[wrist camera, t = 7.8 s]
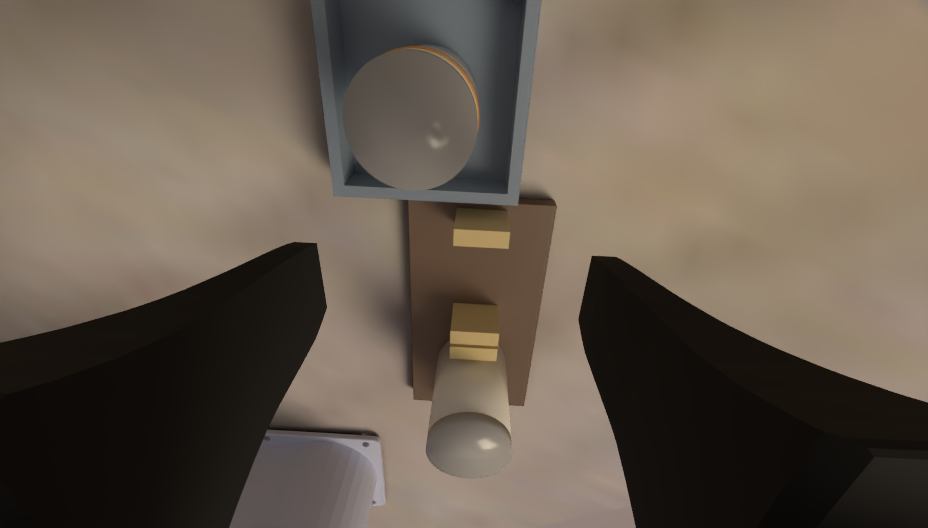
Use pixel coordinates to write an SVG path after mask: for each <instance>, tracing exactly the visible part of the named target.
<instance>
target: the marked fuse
mask: <svg viewBox="0 0 928 528" xmlns="http://www.w3.org/2000/svg"><path fill="white" fill-rule="evenodd" d="M342 118H343V128H344V133H345V136H346V139H347V143H348V145H349V147H350V149H351V151H352V153H353V155H354V156H355V158H356V159H357V161H358V162H359V163H360V164H361V166H362V167H363V168H364V169H365V170H366V171H367V172H368V173H369V174H371V175H372V176H373V177H374V178H376V179H378V180H379V181H381V182H382V183H385V184H387V185H389V186H391V187H394V188H397V189H402V190H409V191H421V190H427V189H432V188H435V187H438V186H440V185H442V184H444V183H446V182H448V181H449V180H451V179H452V178H453V177H454V176H456V175H457V174H458V173H459V172H460V171H461V170H462V168H463V167H464V166H465V164H466V163H467V162H468V160H469V158H470V156H471V154H472V152H473V149H474V146H475V142H476V137H477V132H478V128H479V103H478V88H477V83H476V80H475V77H474V75H473V72H472V71H471V69H470V67H469V66H468V64H467V63H466V62H465V61H464V60H463V59H462V58H461V57H460V56H459V55H458V54H457V53H455V52H454V51H452V50H450V49H449V48H446V47H443V46H440V45H435V44H423V45H418V46H406V47H401V48H397V49H393V50H391V51H388V52H386V53H384V54H382V55H380V56H377V57H376V58H374V59H372V60H370V61H369V62H368V63H367V64H365V65H364V66H363V67H362V68H361V69H360V70H359V71H358V72H357V73H356V75H355V76H354V78H353V79H352V81H351V83H350V85H349V87H348V89H347V92H346V95H345V98H344V103H343V113H342Z"/></svg>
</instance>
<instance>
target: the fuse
mask: <svg viewBox="0 0 928 528" xmlns="http://www.w3.org/2000/svg"><path fill="white" fill-rule="evenodd" d="M497 348H498V350H497V359H496V361H482V360H464V359H450V341H448V342H447V343H446V344H445V345H444V346H443V347H442V348H441V350H440V352H439V355H438V361H437V368H436V376H435V384H434V391H433V399H432V406H431V414H430V421H429V429H428V436H427V444H426V454H427V457H428V459H429V461H430V462H431V463H432V464H433V465H434V466H435V467H436V468H437V469H439V470H440V471H442V472H444V473H446V474H449V475H452V476H455V477H460V478H481V477H486V476H490V475H493V474H495V473H497V472H499V471H500V470H502V469H503V468H504V467H505V466H506V465H507V464H508V463H509V461H510V459H511V456H512V443H511V430H510V416H509V403H508V389H507V375H506V362H505V355H504V353H503V351H502V349H501V348H500V347H499V346H497Z"/></svg>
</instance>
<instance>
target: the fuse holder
mask: <svg viewBox="0 0 928 528" xmlns="http://www.w3.org/2000/svg"><path fill="white" fill-rule="evenodd" d="M408 207H409V244H410V282H411V319H412V356H413V394H414V400H429V401H432V399H433V391H434V384H435V376H436V368H437V361H438V355H439V352H440V350H441V348H442V347H443V346H444V345H445V344H446V343H447V342H448V341H450V359H464V360H482V361H496V359H497V350H498V348H497V346H499V347H500V348H501V349H502V351H503V353H504V355H505V362H506V375H507V389H508V403H509V405H514V406H524V402H525V396H526V390H527V384H528V378H529V372H530V366H531V360H532V353H533V347H534V341H535V335H536V329H537V323H538V317H539V311H540V305H541V299H542V293H543V287H544V281H545V275H546V269H547V263H548V257H549V251H550V245H551V238H552V232H553V226H554V220H555V214H556V208H557V206H556V203H555V201H554V200H542V199H523V198H519V201H518V206H511V205H493V204H474V203H455V202H436V201H418V200H408Z"/></svg>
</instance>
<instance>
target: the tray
mask: <svg viewBox="0 0 928 528" xmlns="http://www.w3.org/2000/svg"><path fill="white" fill-rule="evenodd" d="M310 5H311V13H312V21H313V29H314V38H315V46H316V54H317V62H318V70H319V79H320V87H321V95H322V103H323V111H324V120H325V128H326V136H327V144H328V153H329V161H330V169H331V177H332V185H333V194H334V196H343V197H361V198H380V199H399V200H418V201H436V202H455V203H474V204H493V205H511V206H518V201H519V192H520V183H521V174H522V166H523V157H524V148H525V140H526V131H527V122H528V113H529V105H530V96H531V87H532V79H533V70H534V61H535V52H536V44H537V35H538V26H539V18H540V9H541V0H310ZM423 44H435V45H440V46H443V47H446V48H449V49H450V50H452V51H454V52H455V53H457V54H458V55H459V56H460V57H461V58H462V59H463V60H464V61H465V62H466V63H467V64H468V66H469V67H470V69H471V71H472V72H473V75H474V77H475V80H476V83H477V88H478V103H479V128H478V132H477V137H476V142H475V146H474V149H473V152H472V154H471V156H470V158H469V160H468V162H467V163H466V164H465V166H464V167H463V168H462V170H461V171H460V172H459V173H458V174H457V175H456V176H454V177H453V178H452V179H451V180H449V181H448V182H446V183H444V184H442V185H440V186H438V187H435V188H432V189H427V190H421V191H409V190H402V189H397V188H394V187H391V186H389V185H387V184H385V183H382V182H381V181H379V180H378V179H376V178H374V177H373V176H372V175H371V174H369V173H368V172H367V171H366V170H365V169H364V168H363V167H362V166H361V164H360V163H359V162H358V161H357V159H356V158H355V156H354V155H353V153H352V151H351V149H350V147H349V145H348V143H347V139H346V136H345V133H344V128H343V118H342V113H343V103H344V98H345V95H346V92H347V89H348V87H349V85H350V83H351V81H352V79H353V78H354V76H355V75H356V73H357V72H358V71H359V70H360V69H361V68H362V67H363V66H364V65H365V64H367V63H368V62H369V61H370V60H372V59H374V58H376V57H377V56H380V55H382V54H384V53H386V52H388V51H391V50H393V49H397V48H401V47H406V46H418V45H423Z"/></svg>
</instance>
